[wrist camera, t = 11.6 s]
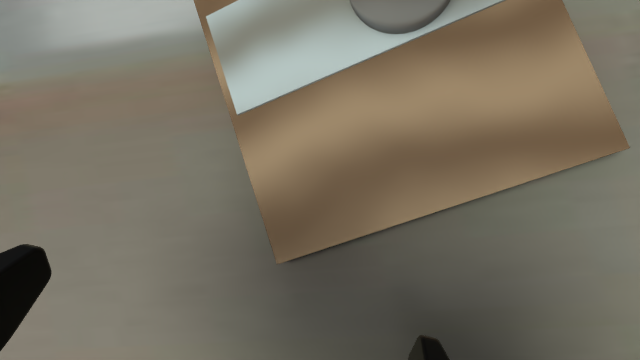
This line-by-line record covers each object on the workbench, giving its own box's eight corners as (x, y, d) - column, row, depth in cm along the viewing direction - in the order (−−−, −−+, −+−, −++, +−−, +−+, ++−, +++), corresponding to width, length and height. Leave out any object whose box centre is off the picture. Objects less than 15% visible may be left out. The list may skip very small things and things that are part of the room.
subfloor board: (615, 151, 18) (632, 147, 17) (284, 261, 22) (275, 265, 21) (484, -138, 21) (489, -162, 19) (202, 5, 24) (190, -7, 23)
